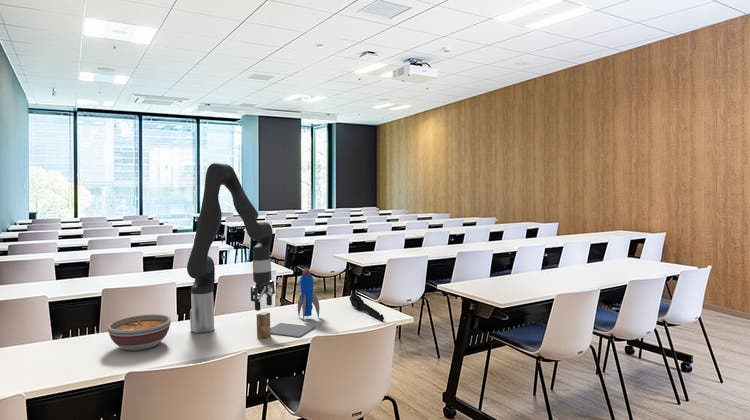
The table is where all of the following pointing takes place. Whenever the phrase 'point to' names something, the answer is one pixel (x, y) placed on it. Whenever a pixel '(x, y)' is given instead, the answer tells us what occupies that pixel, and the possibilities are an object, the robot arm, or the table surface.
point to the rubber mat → (290, 330)
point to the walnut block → (263, 325)
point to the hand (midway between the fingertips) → (263, 307)
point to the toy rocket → (307, 295)
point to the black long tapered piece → (364, 307)
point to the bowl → (139, 331)
